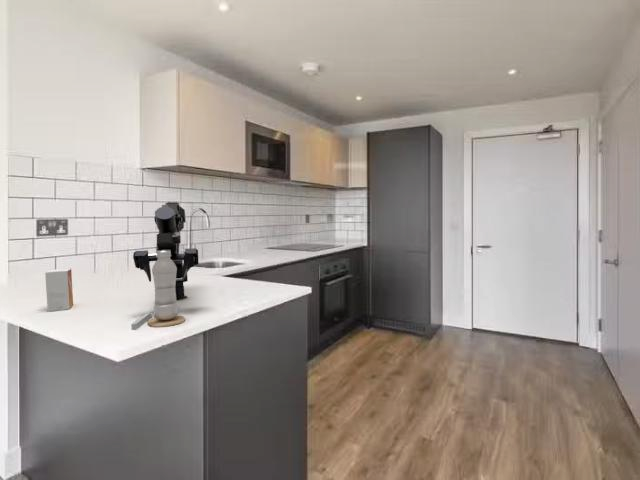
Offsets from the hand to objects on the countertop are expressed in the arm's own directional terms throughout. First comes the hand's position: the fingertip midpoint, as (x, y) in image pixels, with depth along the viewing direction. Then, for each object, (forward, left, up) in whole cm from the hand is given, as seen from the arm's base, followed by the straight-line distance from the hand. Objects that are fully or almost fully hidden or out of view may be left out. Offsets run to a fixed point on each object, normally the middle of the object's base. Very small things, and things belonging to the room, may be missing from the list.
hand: (166, 279), depth 113 cm
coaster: (+5, -5, -11) cm, 13 cm away
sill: (-1, -8, -11) cm, 14 cm away
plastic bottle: (+4, -5, -11) cm, 12 cm away
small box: (-44, -5, -11) cm, 46 cm away
